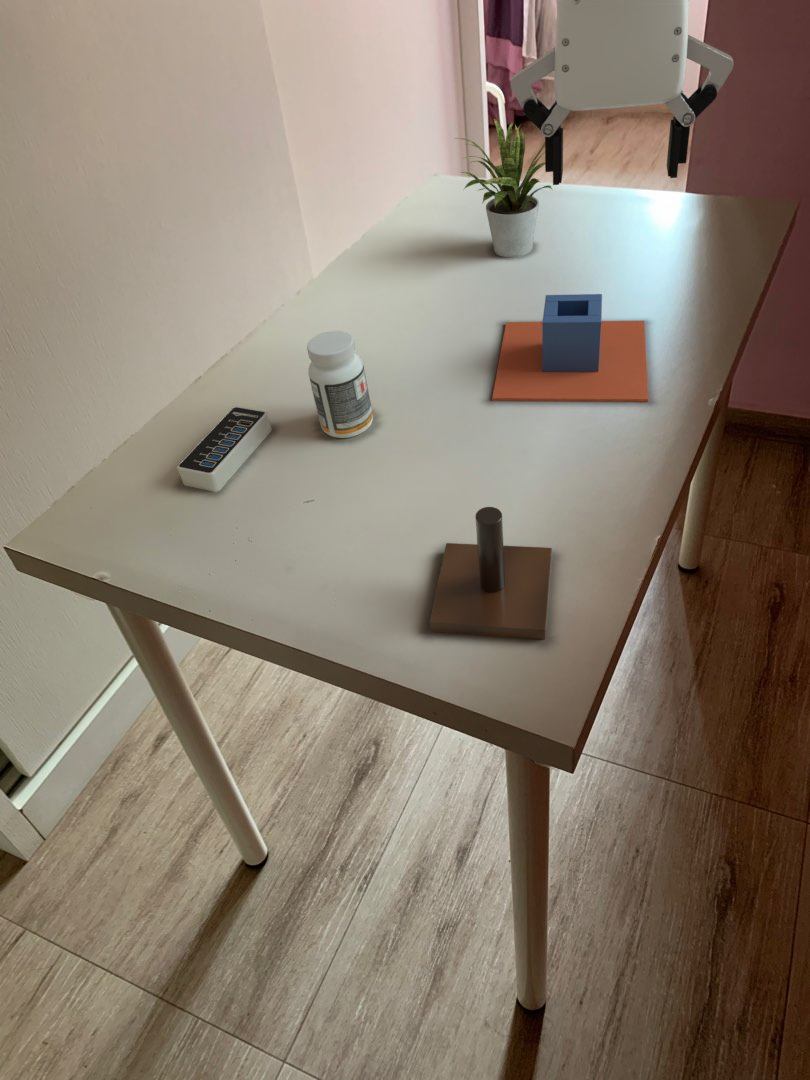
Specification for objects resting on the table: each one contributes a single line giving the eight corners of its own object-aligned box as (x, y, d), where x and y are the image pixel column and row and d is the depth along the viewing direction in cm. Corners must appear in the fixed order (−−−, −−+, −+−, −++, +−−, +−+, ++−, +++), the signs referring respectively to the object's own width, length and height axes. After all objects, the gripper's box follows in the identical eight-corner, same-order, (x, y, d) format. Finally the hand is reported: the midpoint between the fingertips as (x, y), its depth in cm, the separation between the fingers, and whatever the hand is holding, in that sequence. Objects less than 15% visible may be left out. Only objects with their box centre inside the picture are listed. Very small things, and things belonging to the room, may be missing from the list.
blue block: (599, 343, 91) (602, 293, 87) (598, 372, 87) (601, 321, 83) (545, 343, 93) (545, 294, 88) (542, 372, 88) (542, 322, 84)
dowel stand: (551, 557, 69) (552, 478, 63) (545, 640, 62) (546, 561, 56) (447, 552, 70) (438, 475, 65) (430, 632, 64) (419, 554, 58)
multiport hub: (181, 485, 82) (174, 467, 80) (239, 423, 89) (233, 405, 87) (217, 492, 80) (211, 474, 79) (273, 429, 87) (268, 411, 86)
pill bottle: (381, 411, 87) (367, 329, 80) (362, 443, 83) (346, 359, 77) (333, 406, 89) (316, 325, 82) (312, 437, 85) (292, 355, 78)
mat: (644, 323, 94) (644, 320, 94) (648, 402, 83) (648, 399, 83) (506, 325, 97) (506, 322, 97) (492, 401, 86) (492, 398, 86)
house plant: (443, 238, 117) (433, 117, 106) (532, 217, 119) (531, 96, 108) (476, 279, 107) (469, 149, 96) (574, 255, 109) (577, 125, 97)
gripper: (746, -90, 60) (715, 154, 71) (511, -60, 64) (517, 167, 75) (758, -75, 54) (723, 186, 66) (501, -43, 58) (510, 198, 70)
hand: (613, 175), depth 70 cm, fingers open, 9 cm apart
